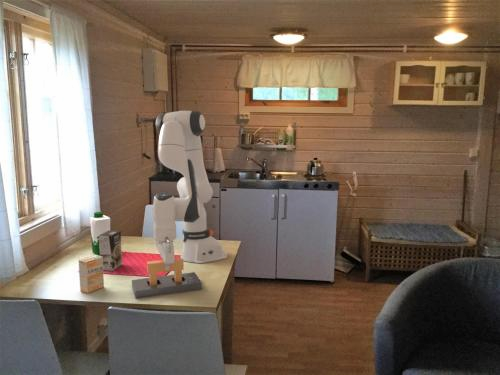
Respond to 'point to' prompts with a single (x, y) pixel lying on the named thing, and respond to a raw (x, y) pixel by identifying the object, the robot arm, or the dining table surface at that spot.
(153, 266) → the orange u-shaped block
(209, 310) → the dining table surface
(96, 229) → the milk carton
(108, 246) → the coffee box
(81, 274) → the supplement box
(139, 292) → the holed rail
